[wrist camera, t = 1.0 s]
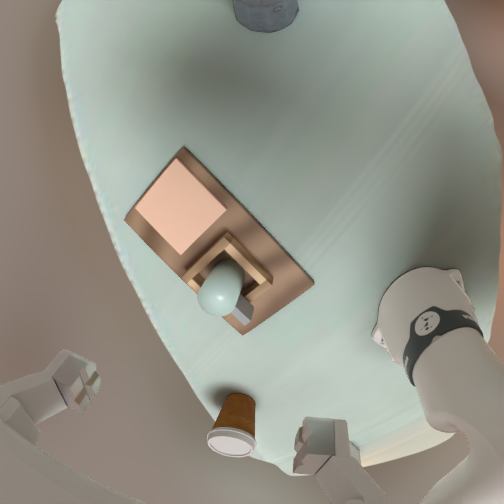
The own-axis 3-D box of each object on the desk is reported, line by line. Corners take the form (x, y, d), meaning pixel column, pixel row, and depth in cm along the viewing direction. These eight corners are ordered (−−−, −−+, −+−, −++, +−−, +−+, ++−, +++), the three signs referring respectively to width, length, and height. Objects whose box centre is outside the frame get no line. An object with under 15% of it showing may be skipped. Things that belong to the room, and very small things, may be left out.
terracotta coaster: (227, 208, 39) (226, 210, 39) (182, 253, 43) (180, 255, 42) (178, 157, 37) (175, 158, 37) (137, 206, 41) (134, 207, 40)
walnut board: (314, 281, 43) (315, 293, 39) (243, 332, 48) (240, 344, 45) (185, 147, 38) (175, 148, 35) (126, 218, 43) (115, 224, 40)
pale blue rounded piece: (266, 289, 43) (260, 318, 36) (242, 307, 45) (233, 336, 38) (228, 252, 42) (215, 274, 35) (205, 272, 43) (189, 297, 36)
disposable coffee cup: (271, 407, 55) (265, 453, 44) (238, 418, 58) (228, 460, 47) (243, 382, 53) (231, 430, 42) (209, 396, 56) (195, 439, 45)
